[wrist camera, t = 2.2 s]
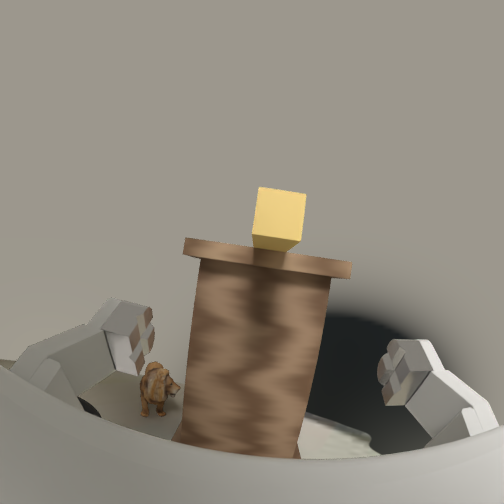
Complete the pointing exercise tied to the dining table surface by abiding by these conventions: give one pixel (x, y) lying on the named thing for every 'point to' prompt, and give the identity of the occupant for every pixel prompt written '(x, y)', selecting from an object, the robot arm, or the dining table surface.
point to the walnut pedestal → (253, 347)
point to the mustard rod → (278, 219)
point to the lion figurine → (156, 388)
